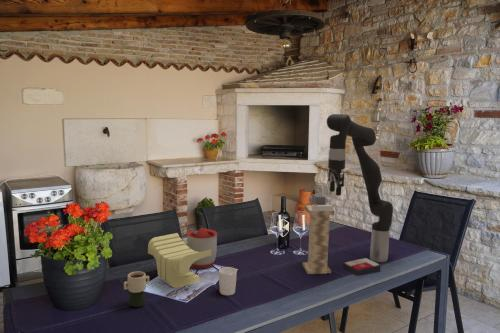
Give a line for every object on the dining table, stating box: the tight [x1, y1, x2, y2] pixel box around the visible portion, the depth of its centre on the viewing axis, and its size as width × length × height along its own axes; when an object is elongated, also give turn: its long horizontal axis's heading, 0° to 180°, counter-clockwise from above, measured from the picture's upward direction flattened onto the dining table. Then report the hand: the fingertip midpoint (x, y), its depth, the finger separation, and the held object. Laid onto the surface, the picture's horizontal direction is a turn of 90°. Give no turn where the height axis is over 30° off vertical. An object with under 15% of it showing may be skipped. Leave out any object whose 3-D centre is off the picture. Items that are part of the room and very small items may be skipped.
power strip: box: [311, 204, 334, 211], centre depth 199 cm, size 10×2×3 cm, turn 97°
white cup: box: [218, 266, 238, 296], centre depth 179 cm, size 8×8×10 cm
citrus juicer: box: [186, 226, 218, 269], centre depth 210 cm, size 16×17×20 cm
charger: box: [308, 193, 327, 205], centre depth 210 cm, size 5×16×6 cm, turn 7°
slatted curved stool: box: [147, 232, 211, 289], centre depth 190 cm, size 30×16×18 cm, turn 40°
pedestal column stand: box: [301, 204, 335, 275], centre depth 207 cm, size 12×12×32 cm
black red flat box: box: [343, 257, 381, 277], centre depth 209 cm, size 11×4×15 cm
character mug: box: [123, 270, 150, 308], centre depth 165 cm, size 11×7×13 cm, turn 130°
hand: (335, 193), depth 187 cm, fingers open, 8 cm apart
